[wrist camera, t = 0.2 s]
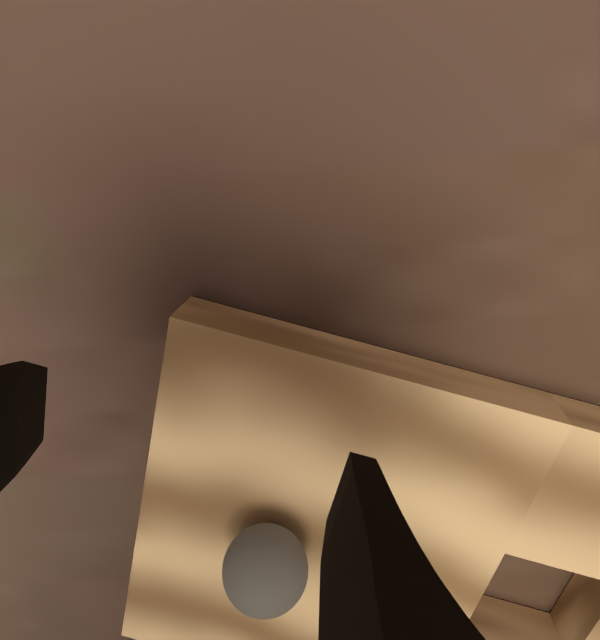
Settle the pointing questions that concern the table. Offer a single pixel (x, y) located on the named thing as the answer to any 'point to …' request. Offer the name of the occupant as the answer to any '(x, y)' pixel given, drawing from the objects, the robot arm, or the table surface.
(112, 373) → the table surface
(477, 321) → the table surface
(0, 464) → the robot arm
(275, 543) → the ball
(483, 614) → the deck
